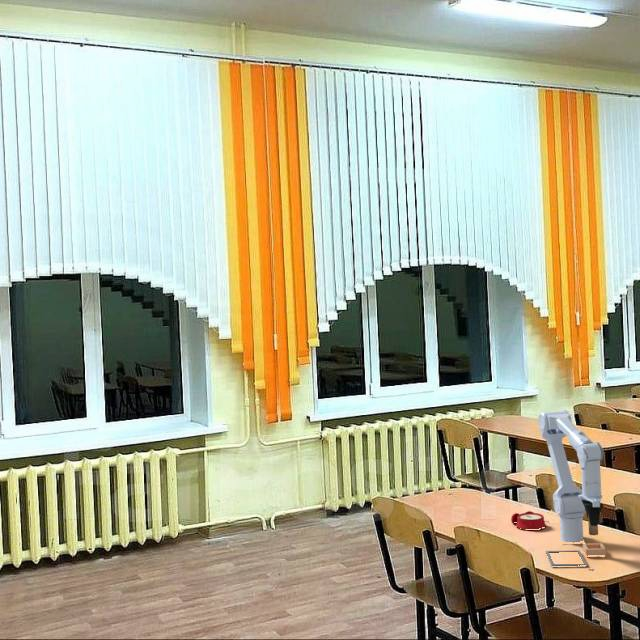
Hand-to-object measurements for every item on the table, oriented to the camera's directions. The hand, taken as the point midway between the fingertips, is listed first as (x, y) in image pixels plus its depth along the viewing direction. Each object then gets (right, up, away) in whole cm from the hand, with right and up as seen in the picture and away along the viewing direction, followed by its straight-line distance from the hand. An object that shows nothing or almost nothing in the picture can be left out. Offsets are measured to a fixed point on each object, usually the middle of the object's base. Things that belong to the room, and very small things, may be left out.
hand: (593, 523), depth 269 cm
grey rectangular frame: (-9, -11, -3) cm, 15 cm away
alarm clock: (-11, -10, +37) cm, 40 cm away
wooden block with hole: (+1, -10, 0) cm, 10 cm away
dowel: (0, -3, 0) cm, 3 cm away
